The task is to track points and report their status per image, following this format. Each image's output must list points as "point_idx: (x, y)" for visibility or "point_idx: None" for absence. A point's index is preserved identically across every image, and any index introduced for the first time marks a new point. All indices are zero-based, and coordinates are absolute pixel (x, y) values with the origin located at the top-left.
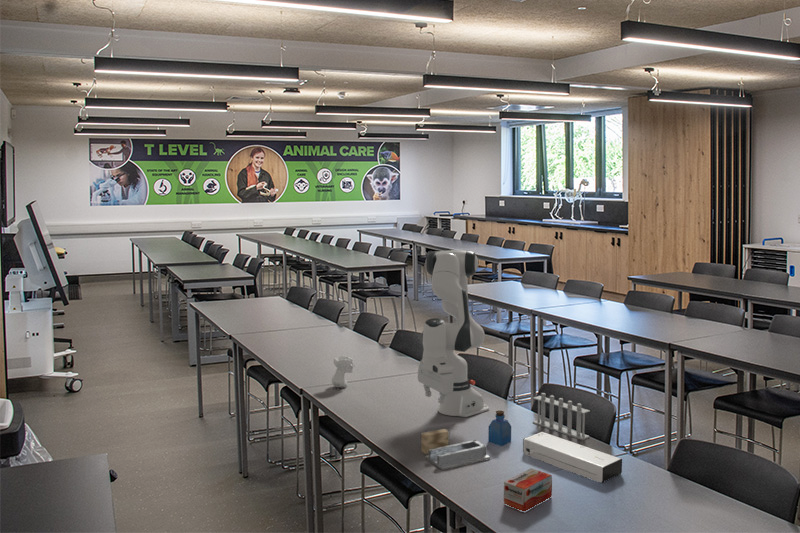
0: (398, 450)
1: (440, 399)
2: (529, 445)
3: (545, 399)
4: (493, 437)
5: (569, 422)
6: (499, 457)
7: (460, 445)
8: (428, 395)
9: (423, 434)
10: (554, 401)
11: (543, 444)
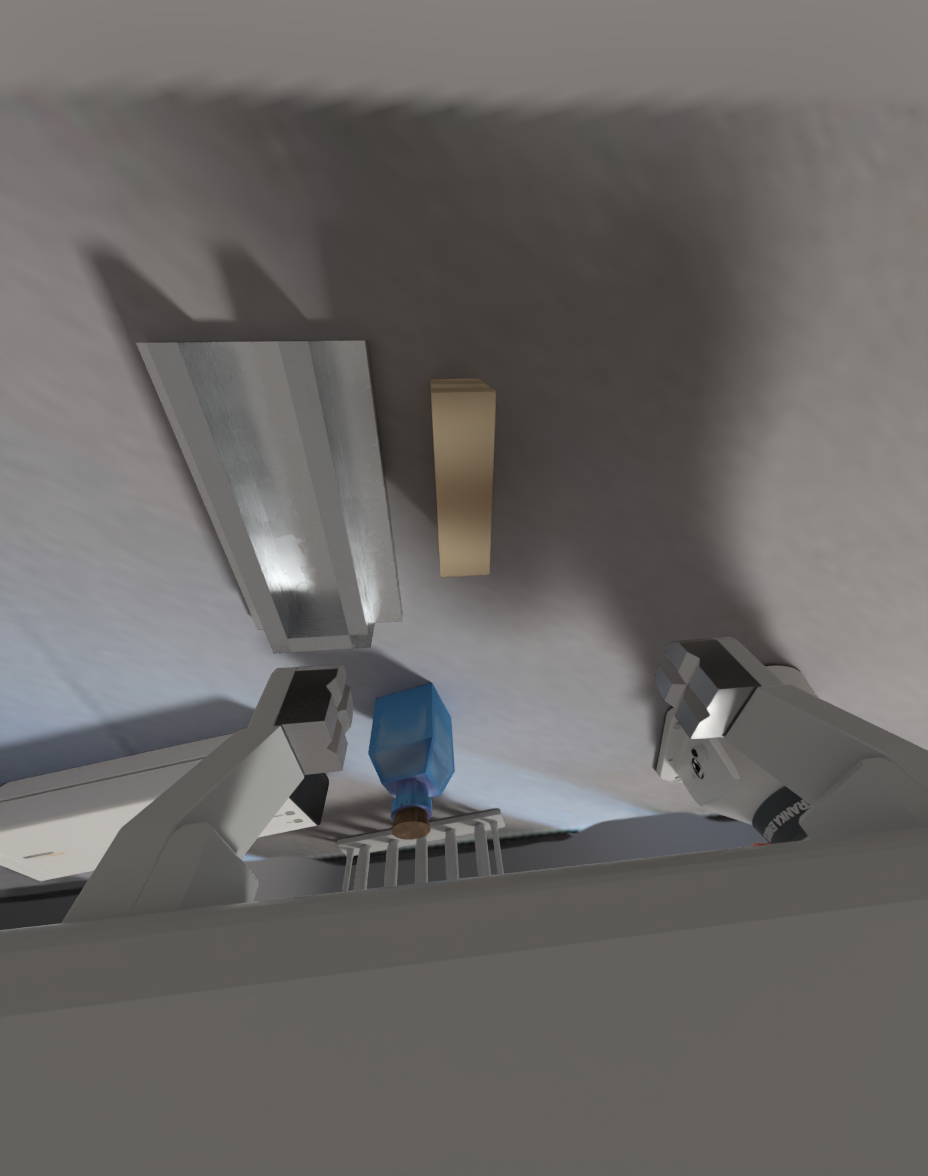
0: (571, 216)
1: (248, 726)
2: None
3: None
4: (408, 708)
5: (386, 872)
6: (272, 655)
7: (333, 565)
8: (677, 664)
9: (466, 394)
10: None
11: None
